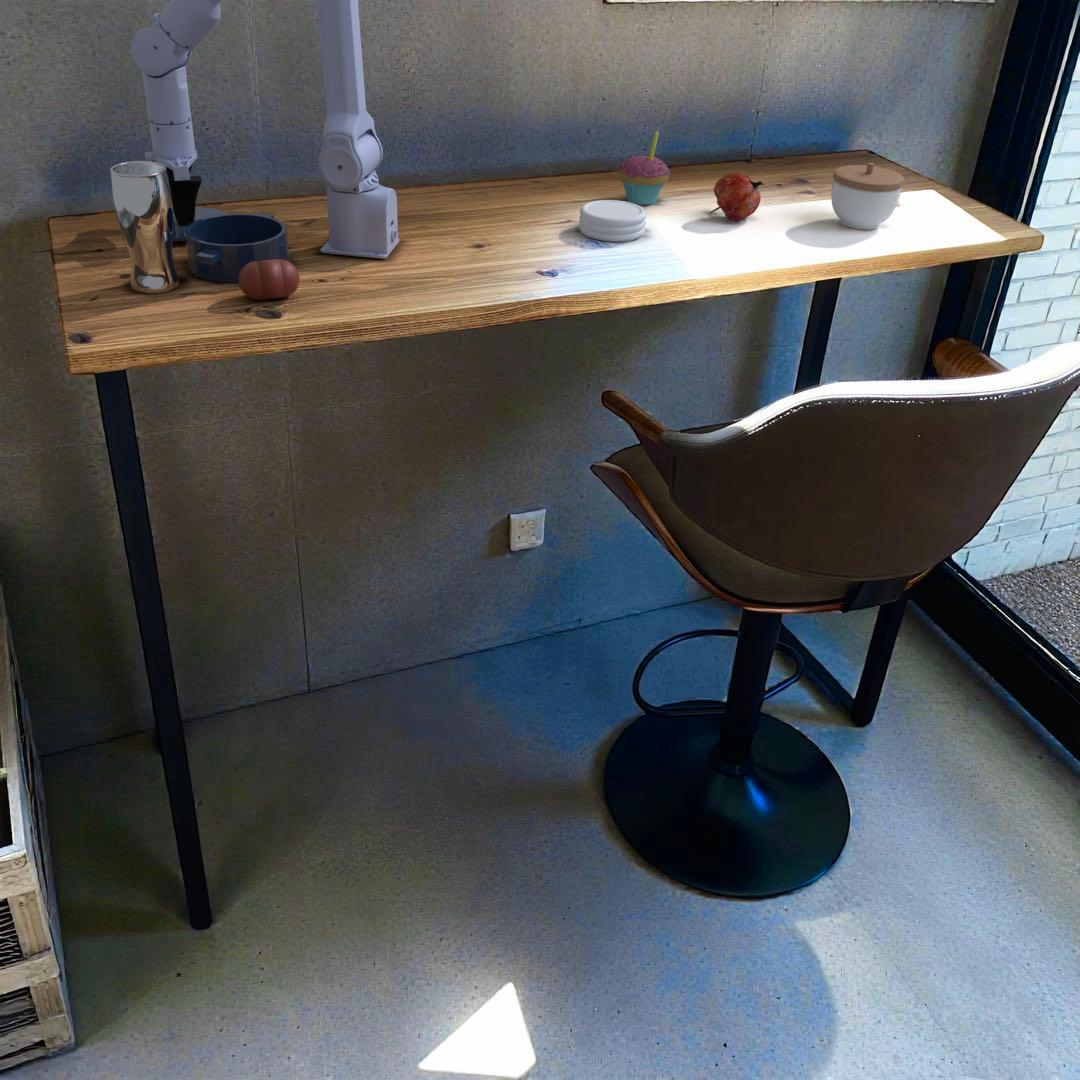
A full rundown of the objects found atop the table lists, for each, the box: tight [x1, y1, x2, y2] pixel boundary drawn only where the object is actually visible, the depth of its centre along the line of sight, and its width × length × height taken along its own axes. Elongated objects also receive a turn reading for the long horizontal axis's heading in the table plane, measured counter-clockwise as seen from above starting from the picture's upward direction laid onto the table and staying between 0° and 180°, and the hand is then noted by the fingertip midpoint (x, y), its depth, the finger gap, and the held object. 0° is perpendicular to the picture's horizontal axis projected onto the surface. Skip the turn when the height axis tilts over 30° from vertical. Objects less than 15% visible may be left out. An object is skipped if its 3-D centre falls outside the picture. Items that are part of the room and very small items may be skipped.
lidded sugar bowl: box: [830, 162, 905, 231], centre depth 182 cm, size 11×11×9 cm
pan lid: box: [172, 206, 228, 242], centre depth 168 cm, size 14×14×4 cm
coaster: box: [578, 199, 647, 243], centre depth 175 cm, size 10×10×4 cm
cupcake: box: [616, 127, 672, 206], centre depth 187 cm, size 9×8×12 cm
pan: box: [184, 212, 290, 284], centre depth 157 cm, size 13×19×5 cm
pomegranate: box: [709, 172, 766, 222], centre depth 183 cm, size 7×7×10 cm
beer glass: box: [109, 160, 180, 294], centre depth 147 cm, size 7×7×15 cm
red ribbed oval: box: [238, 259, 300, 301], centre depth 148 cm, size 8×5×5 cm, turn 111°
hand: (182, 217), depth 169 cm, fingers open, 7 cm apart
